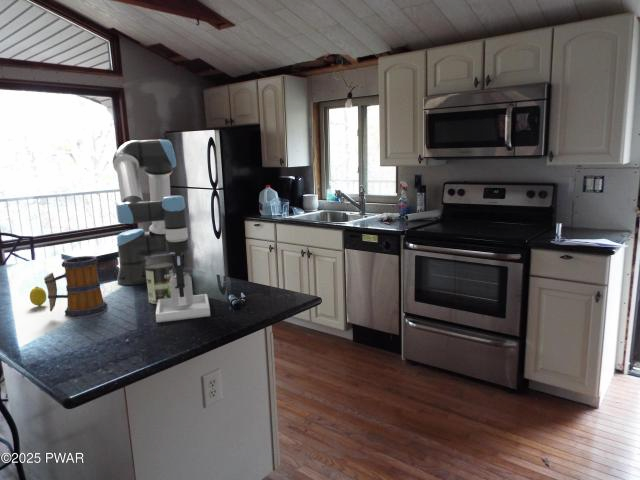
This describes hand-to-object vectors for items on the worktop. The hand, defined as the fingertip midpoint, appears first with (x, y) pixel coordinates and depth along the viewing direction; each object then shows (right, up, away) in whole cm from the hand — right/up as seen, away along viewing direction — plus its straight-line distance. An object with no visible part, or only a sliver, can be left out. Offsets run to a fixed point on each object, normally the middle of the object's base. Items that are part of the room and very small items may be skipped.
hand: (182, 301), depth 174 cm
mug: (-39, -5, +3) cm, 39 cm away
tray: (0, -4, +1) cm, 4 cm away
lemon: (-59, -4, +13) cm, 61 cm away
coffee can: (-12, -2, +16) cm, 20 cm away
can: (0, -2, 0) cm, 2 cm away
